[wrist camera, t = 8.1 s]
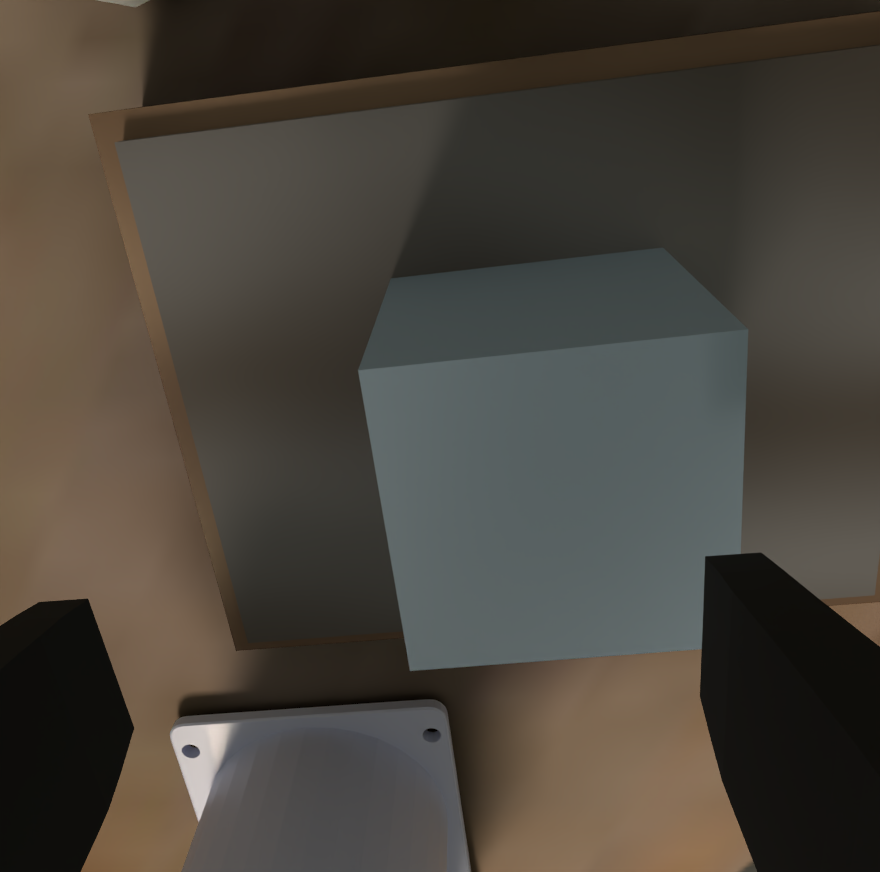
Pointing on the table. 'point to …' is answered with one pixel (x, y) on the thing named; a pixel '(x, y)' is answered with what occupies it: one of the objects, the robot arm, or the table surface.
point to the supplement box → (127, 2)
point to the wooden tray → (498, 244)
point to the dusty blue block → (555, 456)
